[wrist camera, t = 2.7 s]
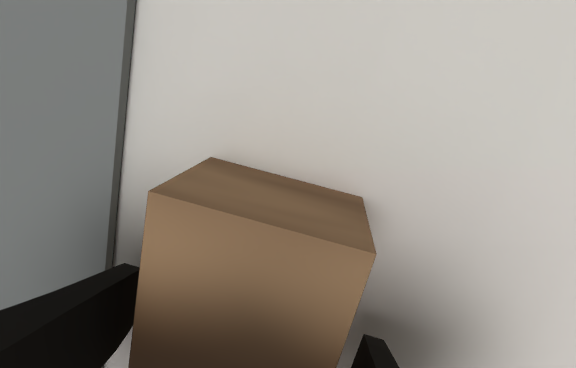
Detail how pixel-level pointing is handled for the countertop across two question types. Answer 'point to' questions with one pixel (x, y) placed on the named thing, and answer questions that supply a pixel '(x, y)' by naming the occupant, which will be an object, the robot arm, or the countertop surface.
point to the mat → (60, 140)
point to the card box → (248, 271)
